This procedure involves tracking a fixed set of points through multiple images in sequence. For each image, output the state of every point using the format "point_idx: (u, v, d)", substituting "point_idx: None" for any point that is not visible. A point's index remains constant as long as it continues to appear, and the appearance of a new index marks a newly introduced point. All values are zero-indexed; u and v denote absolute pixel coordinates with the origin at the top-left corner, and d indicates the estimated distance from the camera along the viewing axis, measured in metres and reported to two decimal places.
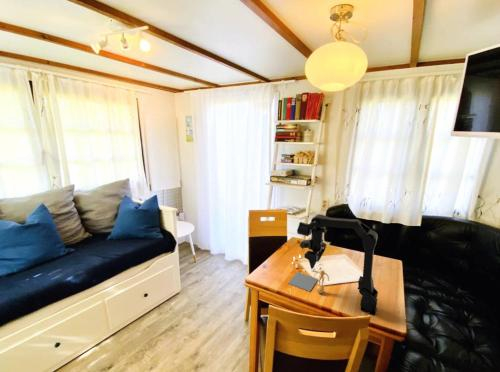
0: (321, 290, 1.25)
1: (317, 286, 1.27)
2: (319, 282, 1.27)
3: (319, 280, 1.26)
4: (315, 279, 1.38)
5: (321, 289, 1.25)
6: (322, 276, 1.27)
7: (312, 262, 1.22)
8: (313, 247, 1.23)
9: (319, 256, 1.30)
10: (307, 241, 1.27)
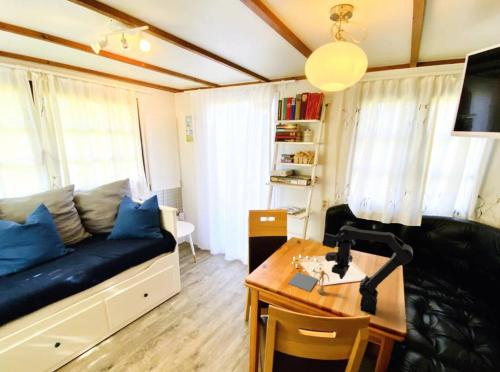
0: (321, 290, 1.25)
1: (317, 286, 1.27)
2: (319, 282, 1.27)
3: (319, 280, 1.26)
4: (315, 279, 1.38)
5: (321, 289, 1.25)
6: (322, 276, 1.27)
7: None
8: (340, 260, 1.16)
9: None
10: (333, 253, 1.20)
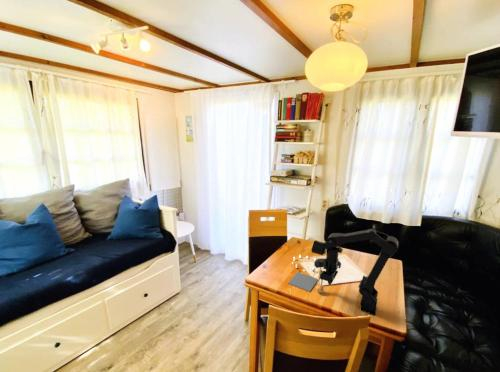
0: (321, 289, 1.25)
1: (317, 286, 1.27)
2: None
3: (318, 279, 1.27)
4: (315, 279, 1.38)
5: (321, 288, 1.25)
6: None
7: None
8: (328, 267, 1.20)
9: None
10: (322, 260, 1.24)
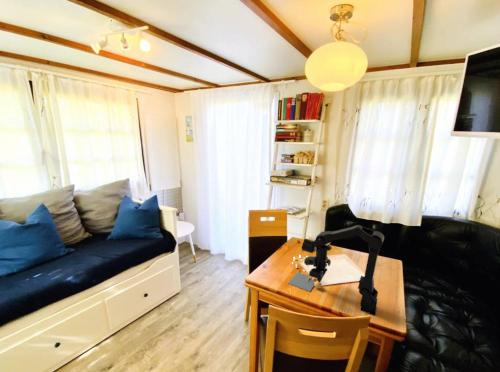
0: None
1: (314, 283, 1.31)
2: (314, 281, 1.33)
3: (313, 278, 1.34)
4: (315, 279, 1.38)
5: None
6: None
7: None
8: (318, 264, 1.23)
9: None
10: (311, 258, 1.27)
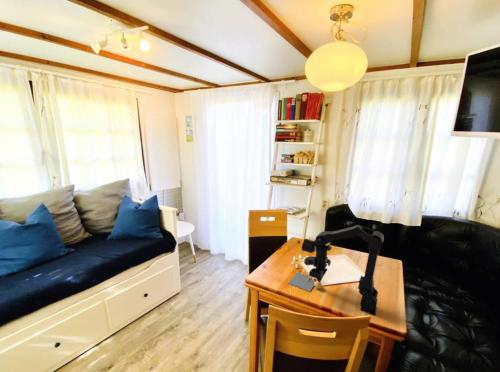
0: None
1: (314, 283, 1.31)
2: (314, 281, 1.33)
3: (313, 278, 1.34)
4: (315, 279, 1.38)
5: None
6: None
7: None
8: (318, 264, 1.23)
9: None
10: (311, 258, 1.27)
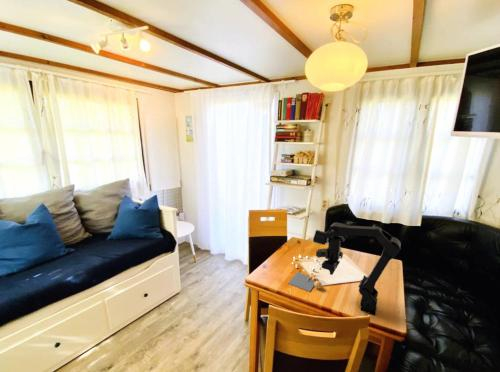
0: (318, 281, 1.30)
1: (314, 283, 1.31)
2: (314, 281, 1.33)
3: (313, 278, 1.34)
4: (315, 279, 1.38)
5: (318, 281, 1.30)
6: (314, 277, 1.37)
7: None
8: (330, 256, 1.19)
9: None
10: (323, 250, 1.23)
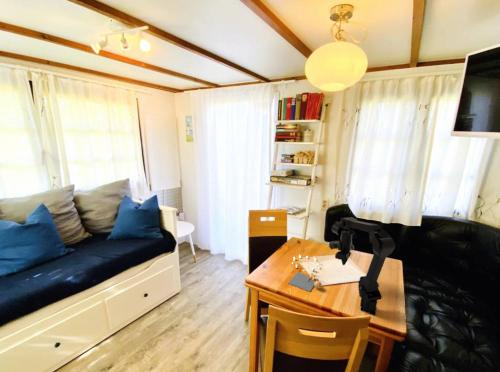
0: (318, 281, 1.30)
1: (314, 283, 1.31)
2: (314, 281, 1.33)
3: (313, 278, 1.34)
4: (315, 279, 1.38)
5: (318, 281, 1.30)
6: (314, 277, 1.37)
7: None
8: (343, 248, 1.28)
9: None
10: (336, 242, 1.33)
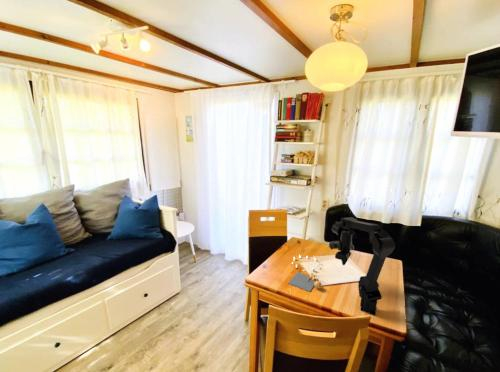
0: (318, 281, 1.30)
1: (314, 283, 1.31)
2: (314, 281, 1.33)
3: (313, 278, 1.34)
4: (315, 279, 1.38)
5: (318, 281, 1.30)
6: (314, 277, 1.37)
7: None
8: (343, 248, 1.29)
9: None
10: (336, 242, 1.33)
